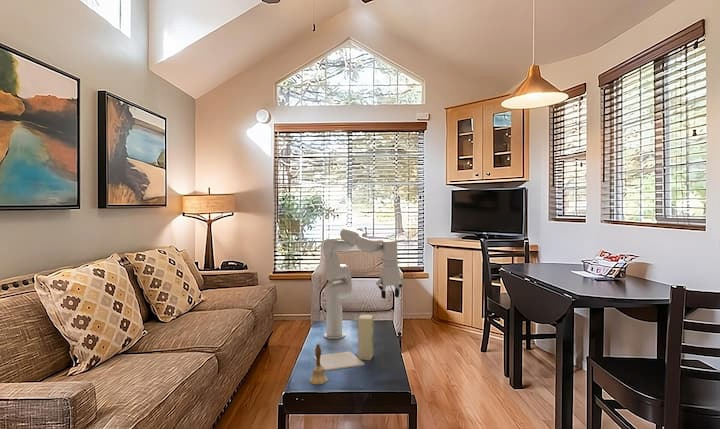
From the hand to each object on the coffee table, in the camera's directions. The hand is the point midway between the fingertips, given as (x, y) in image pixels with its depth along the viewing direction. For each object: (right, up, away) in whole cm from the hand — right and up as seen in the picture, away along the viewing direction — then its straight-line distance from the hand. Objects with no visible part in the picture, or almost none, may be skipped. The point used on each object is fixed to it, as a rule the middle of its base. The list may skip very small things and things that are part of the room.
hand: (390, 297), depth 225 cm
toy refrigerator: (-13, -30, -5) cm, 33 cm away
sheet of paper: (-27, -30, -11) cm, 42 cm away
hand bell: (-34, -30, -35) cm, 58 cm away
